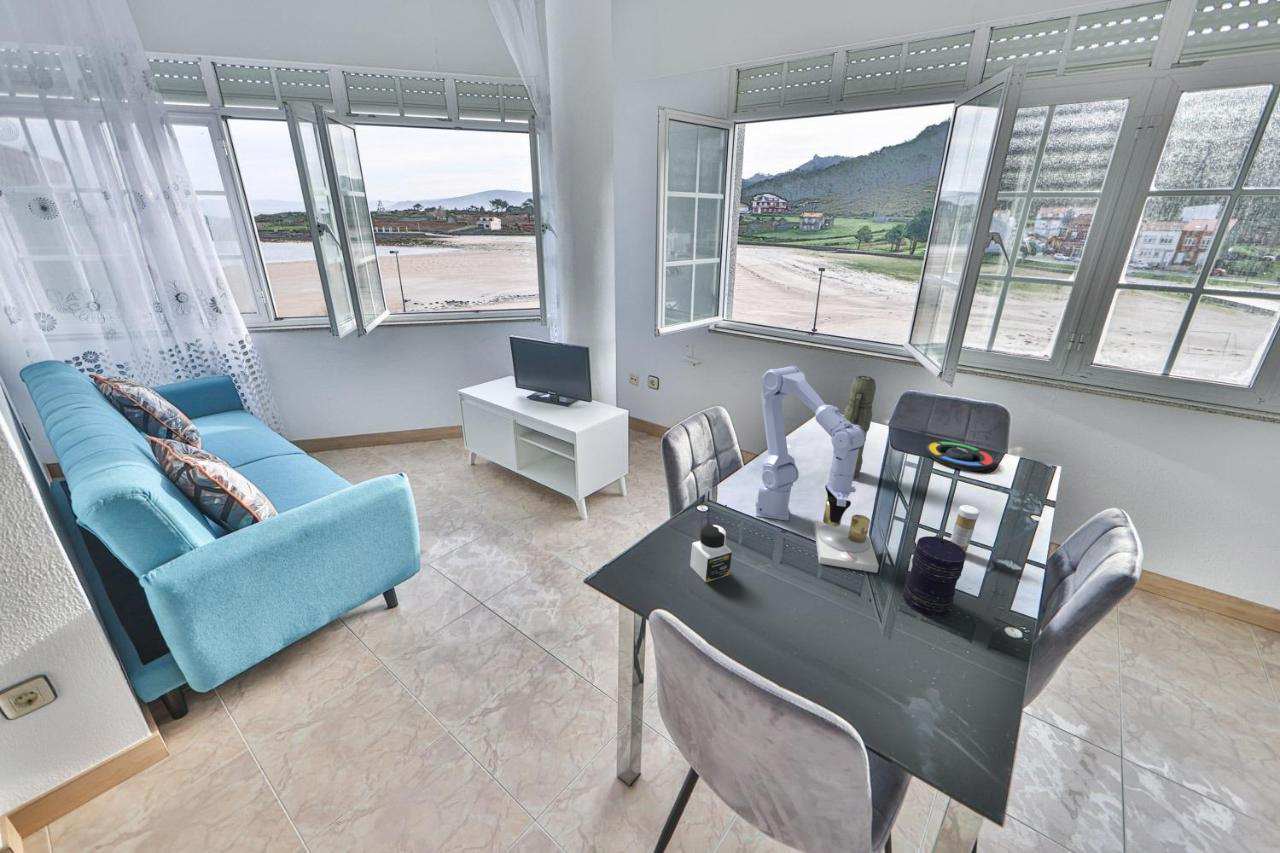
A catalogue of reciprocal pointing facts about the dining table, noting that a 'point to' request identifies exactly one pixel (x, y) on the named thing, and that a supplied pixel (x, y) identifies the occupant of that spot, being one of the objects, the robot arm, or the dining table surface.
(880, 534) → the dining table surface
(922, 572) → the storage jar
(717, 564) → the medicine bottle
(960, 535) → the sprinkles bottle
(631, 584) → the dining table surface
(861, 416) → the thermos
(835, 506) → the robot arm
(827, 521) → the cylinder
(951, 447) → the electronic game
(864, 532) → the cylinder
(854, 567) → the kitchen scale
